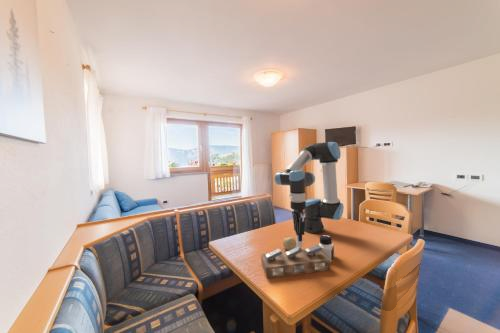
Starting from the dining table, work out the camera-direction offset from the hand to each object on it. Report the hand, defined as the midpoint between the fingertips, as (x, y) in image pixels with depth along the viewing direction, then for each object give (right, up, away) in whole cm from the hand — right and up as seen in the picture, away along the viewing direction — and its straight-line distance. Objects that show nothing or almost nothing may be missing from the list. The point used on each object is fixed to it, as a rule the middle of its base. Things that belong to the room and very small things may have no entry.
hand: (299, 246), depth 101 cm
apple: (-1, -10, +20) cm, 22 cm away
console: (-3, -10, 0) cm, 11 cm away
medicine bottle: (+17, -10, +8) cm, 21 cm away
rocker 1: (-13, -4, -1) cm, 14 cm away
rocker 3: (+7, -2, +1) cm, 8 cm away
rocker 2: (-3, -3, 0) cm, 4 cm away
